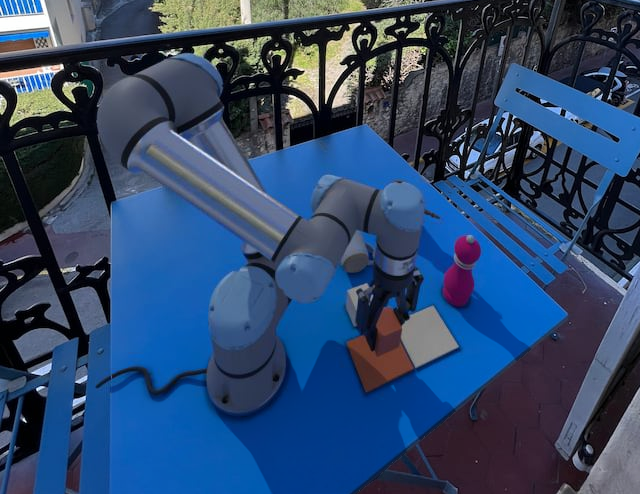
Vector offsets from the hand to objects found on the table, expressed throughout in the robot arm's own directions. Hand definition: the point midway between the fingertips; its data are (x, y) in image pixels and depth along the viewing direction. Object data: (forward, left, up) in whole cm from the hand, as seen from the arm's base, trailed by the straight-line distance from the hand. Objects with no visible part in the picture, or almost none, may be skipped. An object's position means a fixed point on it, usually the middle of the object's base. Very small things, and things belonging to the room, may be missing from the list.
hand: (382, 338), depth 83 cm
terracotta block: (0, 0, 0) cm, 0 cm away
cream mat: (+11, 0, -6) cm, 13 cm away
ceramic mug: (+5, +24, -6) cm, 25 cm away
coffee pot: (+22, +27, -6) cm, 35 cm away
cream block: (0, +10, -6) cm, 12 cm away
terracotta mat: (0, 0, -6) cm, 6 cm away
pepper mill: (+24, +6, -6) cm, 25 cm away
